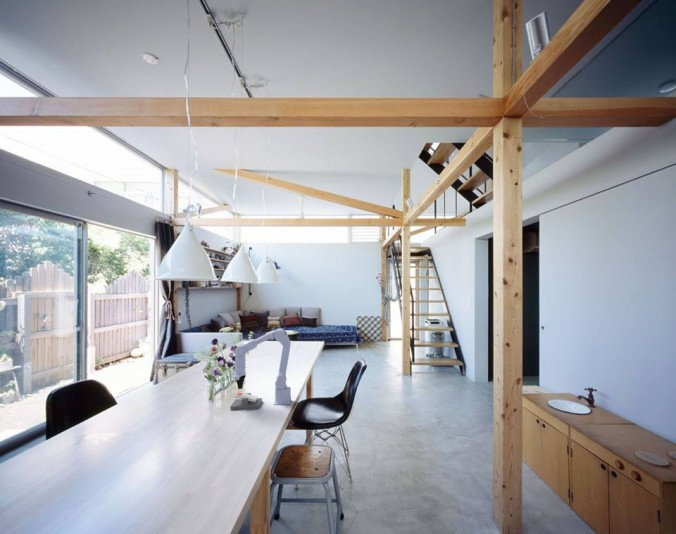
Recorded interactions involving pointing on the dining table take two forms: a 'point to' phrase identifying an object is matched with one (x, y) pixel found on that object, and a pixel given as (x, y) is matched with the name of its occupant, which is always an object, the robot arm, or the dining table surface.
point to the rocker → (246, 396)
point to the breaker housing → (245, 404)
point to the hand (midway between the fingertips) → (240, 388)
